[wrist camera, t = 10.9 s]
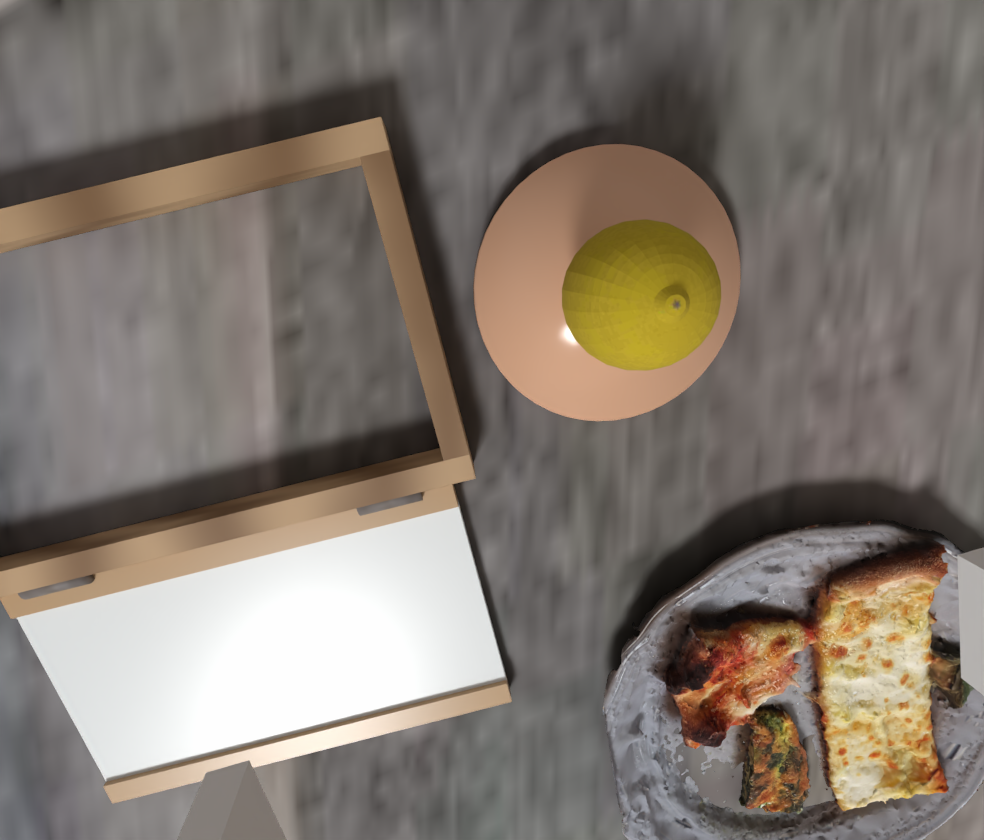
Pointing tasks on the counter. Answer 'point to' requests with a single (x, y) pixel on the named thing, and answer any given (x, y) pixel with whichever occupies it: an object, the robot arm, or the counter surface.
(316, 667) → the lid
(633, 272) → the lemon
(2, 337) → the counter surface
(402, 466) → the wooden frame
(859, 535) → the food plate
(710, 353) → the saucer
